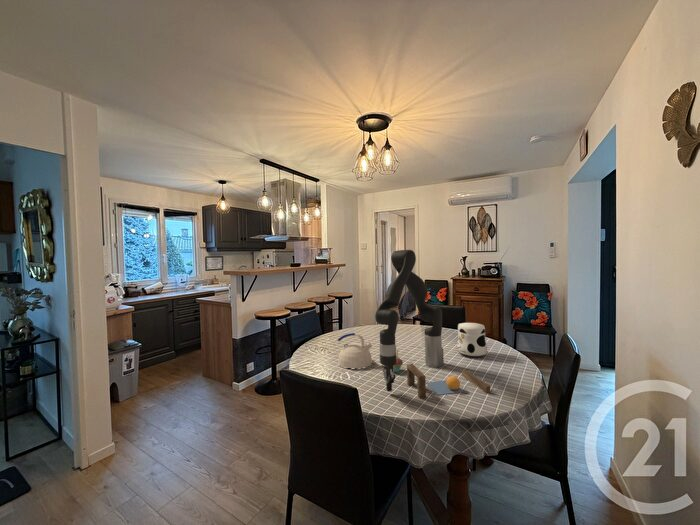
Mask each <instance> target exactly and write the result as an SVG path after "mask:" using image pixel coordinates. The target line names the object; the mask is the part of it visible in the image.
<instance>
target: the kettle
mask: <svg viewBox="0 0 700 525" xmlns="http://www.w3.org/2000/svg"><path fill="white" fill-rule="evenodd" d="M351 336H353V337H355V336H356V337H358V338H359V339H360V341H361V343H359V342H358V343H357V342H352V343H346V344H344V346H343V348H342V349H341V350H340V352H339V355H338V362H337V364H338V363H339V364H340V365H341V366H343V367H347V368H363V367H367V366H369V365H370V366H372V364H373V360H372V354H371V352H370V349H371V348H373V345H372V344H371V343H370V341H369V342H368V343H366V344H365V340H364V337H363V336H362V335H361V334H359V333H356V332H352V333H347V334H344V335H342V336H340V337H339V338H338V339H337V341H338V342H340V341H342V339H345V338H347V337H351ZM371 363H372V364H371ZM370 366H369V367H370ZM367 368H368V367H367ZM363 369H364V368H363Z"/></svg>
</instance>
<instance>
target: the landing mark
mask: <svg viewBox="0 0 700 525" xmlns="http://www.w3.org/2000/svg"><path fill="white" fill-rule="evenodd" d="M446 381H447V379H446V380H436V381H426V386H428V387H429V388H430V389H431V390H432V391H433V392H434V393H435V394H436V395H437V396H441V395H442V396H443V395H451V394H458V393H465V390H463V389H462V388H461V386H459V388H458V389H457V390H451V389H450V388H448V386H447V384H446Z"/></svg>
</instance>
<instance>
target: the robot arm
mask: <svg viewBox="0 0 700 525" xmlns="http://www.w3.org/2000/svg"><path fill="white" fill-rule="evenodd" d="M416 256H417V255H416V253H415V252H414V251H413V249H400V250H399V249H398V250H395V251H393V252H392V253H391V256H390V257H391V258H390V259H391V260H390V261H391V263H392V266H393V268H394V269H395V270H396V272H397V273H398V274H397V276H396V277H395V278H394V279H393V280H392V281H391V282H390V284H389V286H387V290H386V293H385V296H384V299H383V300H382V301H381V304H380V305H379V307H378V308H377V310H376V311H375V315H374V318H375V321H376V322H377V324H379V325H386V326H387V328H386V329H382V330H380V331H379V363H380V365H382V367H381V368H382V372H383V373H382V374H383V378H384V381H385V382H386V383H385V388H386V391H387V392H393V384H394V383H395V379H396V374H394V373H395V372H394V368H393V365H395V364H396V363H397V359H396V356H397V345H396V331H397V327H398V323H399V313H398V312H397V311H396V310H394V309H392V308H397V307H398V306H399V304H400V301H401V299H402V293H403V290H404V288H405V286H406V288H407V290H408V292H409V294H410V295H411V297H412V300H413V301H414V303H415V306H416V308H417V310H418V313H419V316H420V319H421V320H423V321H424V322H427V323H430V324H431V323H432V326H431V327H427V328H425V329H424V354H425V355H424V356H425V357H424V358H425V359H424V360H425V362H424V363H425V365H426V366H427V367H430V368H431V367H432V368H440V367H443V366H444V365H445V361H444V360H445V358H444V348H443V346H442V342H443V341H442V330H443V310H442V308H441V307H439V306H432V305H428V304H427V302H426V300H427V296H428V287H427V285H426V284H425V281H424V280H423V279H422V278H421V277H420V276H419V275H417V274H416V273H415V272H413V269H414V267H415V264H416V262H417V261H416V260H417V259H416V258H417V257H416Z"/></svg>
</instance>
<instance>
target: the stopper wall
mask: <svg viewBox="0 0 700 525" xmlns="http://www.w3.org/2000/svg"><path fill="white" fill-rule="evenodd" d="M461 376H462V377H463V376H464V377H463V378H465V380H467V381H468V382H470V383H471V382H472V383H471V384H473V385H474V386H476V387H477V388H478V387H479V388H478V389H480V390H481V391H482V390H483V392H484V393H485V394H491V386H490V385H489V384H487V383H486V382H485V381H483V380H482V379H480V378H479V377H477V376H476V375H475V374H473V373H472V372H470V371H469V370H467V369H462V370H461Z"/></svg>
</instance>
